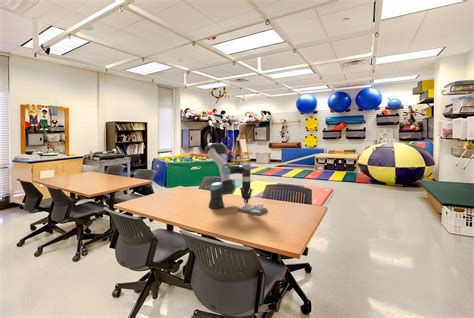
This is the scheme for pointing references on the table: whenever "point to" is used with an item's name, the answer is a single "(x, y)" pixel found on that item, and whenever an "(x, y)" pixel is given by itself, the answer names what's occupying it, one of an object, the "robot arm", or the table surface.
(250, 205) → the tab
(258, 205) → the tab
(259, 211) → the switch board
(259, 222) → the table surface
